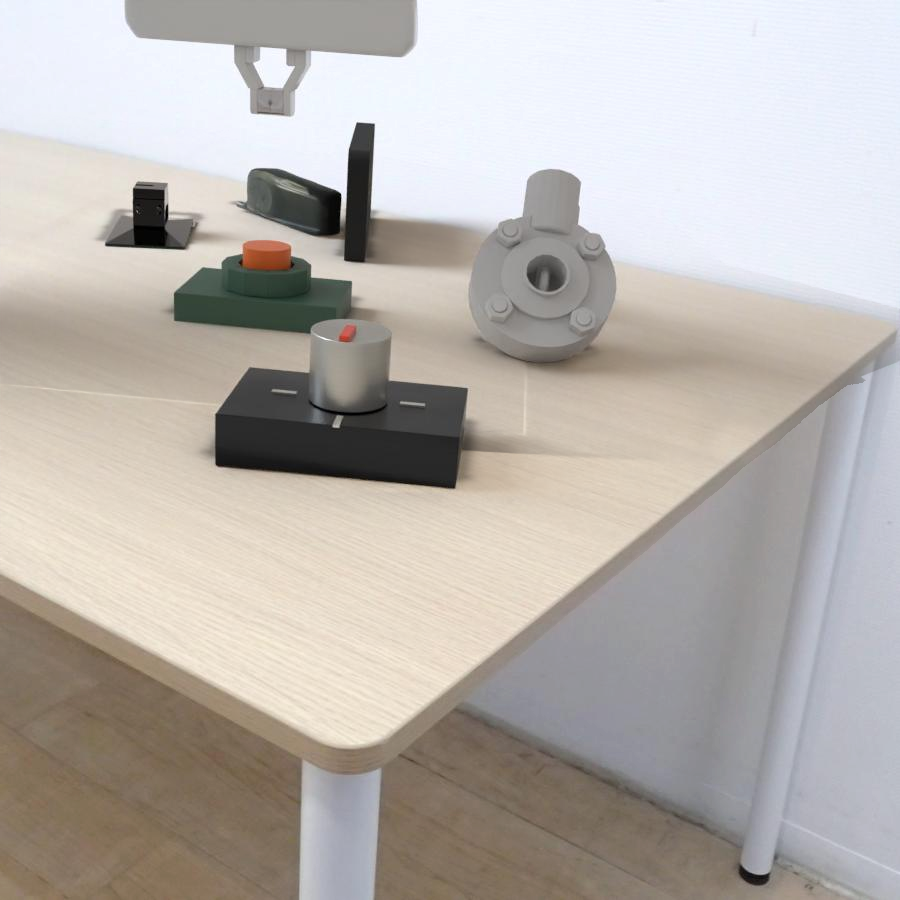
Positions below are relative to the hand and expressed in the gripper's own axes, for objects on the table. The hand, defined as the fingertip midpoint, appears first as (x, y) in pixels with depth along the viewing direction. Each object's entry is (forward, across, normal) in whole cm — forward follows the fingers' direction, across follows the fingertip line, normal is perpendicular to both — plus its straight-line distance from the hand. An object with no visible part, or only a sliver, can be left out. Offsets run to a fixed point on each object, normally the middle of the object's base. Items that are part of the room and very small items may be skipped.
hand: (272, 114), depth 84 cm
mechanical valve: (+15, -20, -3) cm, 25 cm away
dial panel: (+15, -10, +25) cm, 31 cm away
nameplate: (+15, -3, -29) cm, 33 cm away
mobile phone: (+15, +5, -33) cm, 37 cm away
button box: (+15, 0, 0) cm, 15 cm away
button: (+11, 0, 0) cm, 11 cm away
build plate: (+15, +16, -23) cm, 32 cm away
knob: (+12, -10, +25) cm, 29 cm away
